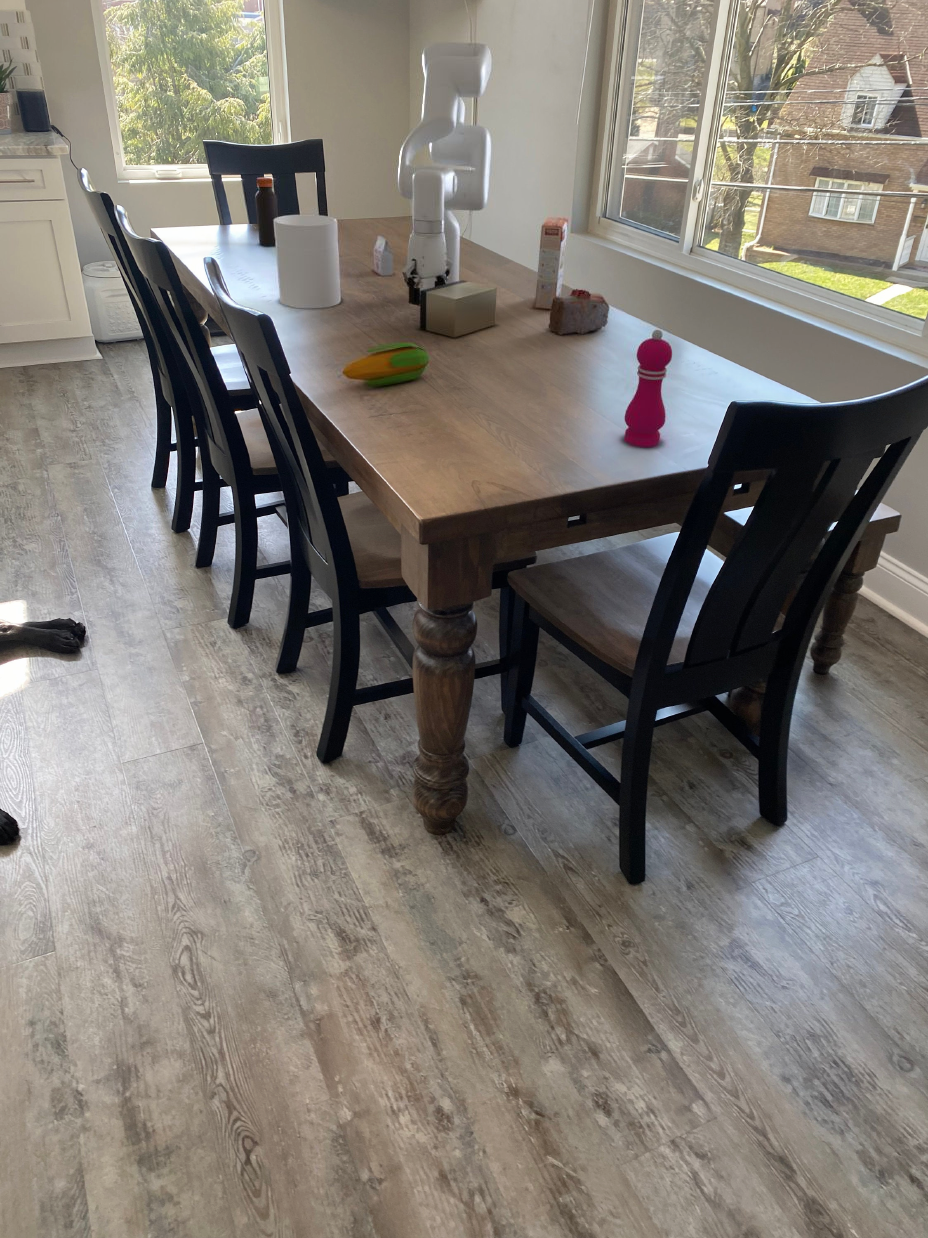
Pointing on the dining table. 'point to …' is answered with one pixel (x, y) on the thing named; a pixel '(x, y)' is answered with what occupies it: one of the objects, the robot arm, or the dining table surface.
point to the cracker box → (551, 261)
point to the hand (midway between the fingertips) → (427, 300)
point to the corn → (389, 365)
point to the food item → (578, 313)
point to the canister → (307, 261)
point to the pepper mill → (648, 393)
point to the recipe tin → (457, 308)
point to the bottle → (266, 211)
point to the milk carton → (383, 257)
